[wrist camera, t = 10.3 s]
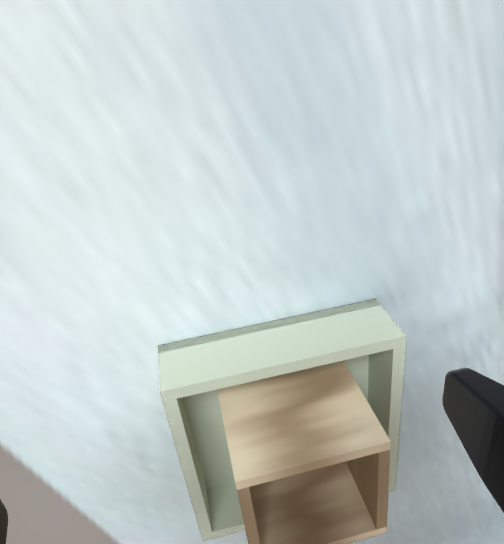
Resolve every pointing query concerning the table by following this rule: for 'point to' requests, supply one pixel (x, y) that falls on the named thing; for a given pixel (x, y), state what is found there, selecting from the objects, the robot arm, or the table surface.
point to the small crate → (307, 457)
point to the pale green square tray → (263, 364)
